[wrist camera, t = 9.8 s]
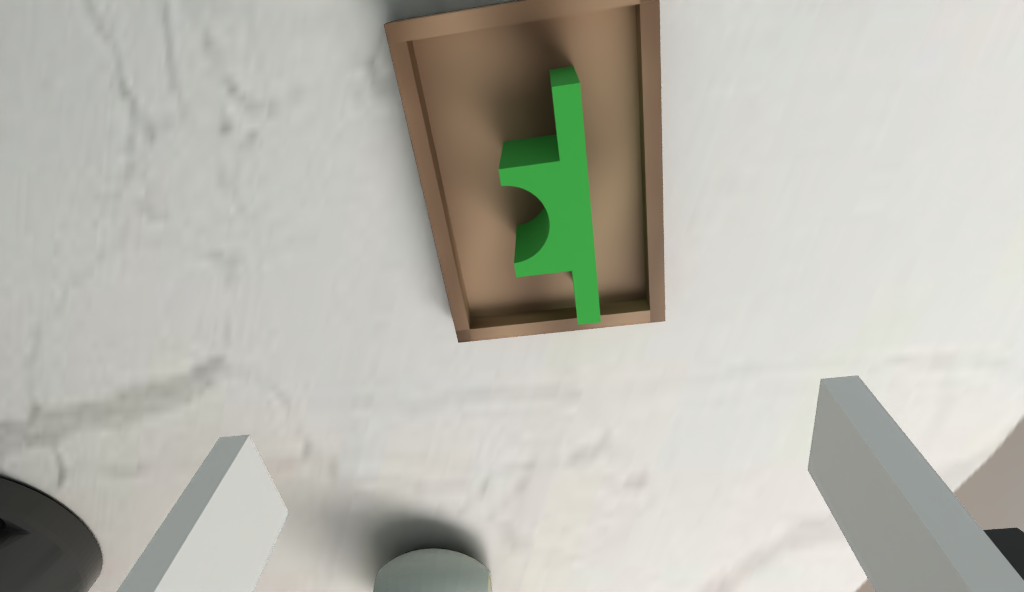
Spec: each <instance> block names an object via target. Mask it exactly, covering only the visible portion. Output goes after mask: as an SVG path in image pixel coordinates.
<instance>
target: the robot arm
mask: <svg viewBox="0 0 1024 592" xmlns="http://www.w3.org/2000/svg"><path fill="white" fill-rule="evenodd" d="M808 471H809V473H810V475H811V477H812V478H813V480H814V482H815V484H816V486H817V487H818V489H819V491H820V493H821V495H822V496H823V498H824V500H825V502H826V504H827V505H828V507H829V509H830V511H831V513H832V515H833V516H834V518H835V520H836V522H837V524H838V525H839V527H840V529H841V531H842V533H843V534H844V536H845V538H846V540H847V542H848V543H849V545H850V547H851V549H852V551H853V552H854V554H855V556H856V558H857V560H858V561H859V563H860V565H861V567H862V569H863V570H864V572H865V574H866V576H867V578H868V579H869V581H870V583H871V585H872V587H873V588H874V590H875V592H1024V532H1022V531H1021V530H1020V529H1018V528H1007V529H992V530H982V528H981V527H980V526H979V525H978V524H977V522H976V521H975V520H974V518H973V517H972V516H971V515H970V514H969V512H968V511H967V510H966V509H965V507H964V506H963V505H962V504H961V502H960V501H959V500H958V499H957V498H956V496H955V495H954V494H953V493H952V491H951V490H950V489H949V488H948V486H947V485H946V484H945V483H944V481H943V480H942V479H941V478H940V476H939V475H938V474H937V473H936V471H935V470H934V469H933V468H932V467H931V465H930V464H929V463H928V462H927V460H926V459H925V458H924V457H923V455H922V454H921V453H920V452H919V450H918V449H917V448H916V447H915V446H914V444H913V443H912V442H911V441H910V439H909V438H908V437H907V436H906V434H905V433H904V432H903V431H902V429H901V428H900V427H899V426H898V425H897V423H896V422H895V421H894V420H893V418H892V417H891V416H890V415H889V413H888V412H887V411H886V410H885V408H884V407H883V406H882V405H881V404H880V402H879V401H878V400H877V399H876V397H875V396H874V395H873V394H872V392H871V391H870V390H869V389H868V387H867V386H866V385H865V384H864V383H863V381H862V380H861V379H860V378H859V376H848V377H837V378H827V379H821V381H820V388H819V395H818V402H817V409H816V416H815V423H814V429H813V436H812V443H811V450H810V457H809V464H808ZM288 513H289V512H288V510H287V508H286V506H285V504H284V502H283V500H282V498H281V496H280V494H279V492H278V490H277V488H276V486H275V484H274V482H273V480H272V478H271V476H270V474H269V472H268V470H267V468H266V466H265V464H264V462H263V460H262V458H261V456H260V454H259V452H258V450H257V448H256V446H255V444H254V442H253V440H252V438H251V436H250V435H241V436H231V437H221V438H219V439H218V441H217V442H216V444H215V445H214V447H213V448H212V450H211V451H210V453H209V454H208V456H207V457H206V459H205V460H204V462H203V463H202V465H201V466H200V468H199V469H198V471H197V472H196V474H195V475H194V477H193V478H192V480H191V481H190V483H189V484H188V486H187V487H186V489H185V490H184V492H183V493H182V495H181V496H180V498H179V499H178V501H177V502H176V504H175V505H174V507H173V508H172V510H171V511H170V513H169V514H168V516H167V517H166V519H165V520H164V522H163V523H162V525H161V526H160V528H159V529H158V531H157V532H156V534H155V535H154V537H153V538H152V540H151V541H150V543H149V544H148V546H147V547H146V549H145V550H144V552H143V553H142V555H141V556H140V558H139V559H138V561H137V562H136V564H135V565H134V567H133V568H132V570H131V571H130V573H129V574H128V576H127V577H126V579H125V580H124V582H123V583H122V585H121V586H120V587H119V589H118V590H117V592H253V591H254V589H255V587H256V585H257V583H258V580H259V578H260V576H261V574H262V571H263V569H264V567H265V565H266V562H267V560H268V558H269V556H270V554H271V551H272V549H273V547H274V545H275V542H276V540H277V538H278V536H279V533H280V531H281V529H282V527H283V525H284V522H285V520H286V518H287V516H288ZM101 569H102V555H101V551H100V548H99V546H98V544H97V542H96V540H95V539H94V537H93V536H92V534H91V533H90V532H89V530H88V529H87V528H86V527H85V526H84V525H83V524H82V523H81V522H80V521H79V520H78V519H77V518H76V517H75V516H74V515H72V514H71V513H70V512H69V511H67V510H66V509H65V508H63V507H62V506H60V505H59V504H57V503H56V502H54V501H53V500H51V499H49V498H47V497H46V496H44V495H42V494H40V493H38V492H36V491H34V490H32V489H30V488H27V487H25V486H23V485H20V484H17V483H15V482H12V481H9V480H6V479H2V478H0V592H88V591H89V589H90V588H91V586H92V585H93V584H94V582H95V581H96V579H97V578H98V576H99V575H100V572H101Z"/></svg>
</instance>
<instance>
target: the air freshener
mask: <svg viewBox="0 0 1024 592" xmlns="http://www.w3.org/2000/svg"><path fill="white" fill-rule="evenodd" d="M373 592H492V582H491V572H490V570H489V569H488V568H486V567H485V566H484V565H483V564H481V563H480V562H478V561H477V560H475V559H473V558H471V557H469V556H467V555H465V554H462V553H459V552H456V551H452V550H446V549H421V550H416V551H411V552H408V553H405V554H402V555H400V556H398V557H396V558H394V559H392V560H391V561H389V562H388V563H387V564H385V565H384V566H383V567H382V568H380V570H379V571H378V573H377V576H376V580H375V585H374V591H373Z"/></svg>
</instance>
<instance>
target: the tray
mask: <svg viewBox="0 0 1024 592" xmlns="http://www.w3.org/2000/svg"><path fill="white" fill-rule="evenodd" d="M384 27H385V31H386V35H387V40H388V44H389V48H390V52H391V57H392V61H393V65H394V69H395V74H396V78H397V82H398V87H399V91H400V95H401V99H402V104H403V108H404V112H405V116H406V121H407V125H408V129H409V134H410V138H411V142H412V146H413V151H414V155H415V159H416V163H417V168H418V172H419V176H420V181H421V185H422V189H423V193H424V198H425V202H426V206H427V210H428V215H429V219H430V223H431V228H432V232H433V236H434V240H435V245H436V249H437V253H438V257H439V262H440V266H441V270H442V275H443V279H444V283H445V287H446V292H447V296H448V300H449V304H450V309H451V313H452V317H453V322H454V326H455V330H456V334H457V339H458V343H459V342H469V341H478V340H488V339H498V338H507V337H517V336H527V335H536V334H546V333H556V332H565V331H575V330H584V329H594V328H604V327H613V326H623V325H633V324H642V323H652V322H662V321H665V283H664V228H663V172H662V117H661V62H660V6H659V0H516V1H510V2H504V3H498V4H492V5H486V6H480V7H474V8H468V9H462V10H456V11H450V12H444V13H438V14H432V15H426V16H420V17H413V18H407V19H401V20H395V21H391V22H388V23H386V24H384ZM570 66H574V68H575V71H576V74H577V76H578V79H579V81H580V87H581V99H582V110H583V122H584V133H585V145H586V156H587V168H588V179H589V191H590V202H591V214H592V225H593V237H594V248H595V260H596V271H597V283H598V294H599V306H600V317H601V322H599V323H589V324H580V325H578V321H577V312H576V304H575V296H574V287H573V279H572V271H567V272H559V273H550V274H541V275H533V276H524V277H516V272H515V266H514V256H515V243H516V229H517V225H522V224H525V223H528V222H530V221H531V220H533V219H534V218H535V217H537V216H538V215H539V214H540V212H541V211H542V210H543V208H544V205H543V204H542V202H541V201H540V200H539V199H538V198H537V197H536V196H535V195H533V194H532V193H531V192H529V191H527V190H525V189H522V188H519V187H514V186H501V182H500V176H499V170H498V169H499V164H500V158H501V153H502V148H503V142H506V141H513V140H520V139H527V138H534V137H541V136H548V135H555V134H556V126H555V117H554V108H553V99H552V90H551V81H550V72H549V70H551V69H557V68H563V67H570Z"/></svg>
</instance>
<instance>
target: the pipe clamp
mask: <svg viewBox="0 0 1024 592" xmlns="http://www.w3.org/2000/svg"><path fill="white" fill-rule="evenodd" d="M549 72H550V81H551V90H552V99H553V108H554V117H555V126H556V134H555V135H548V136H541V137H534V138H527V139H520V140H513V141H506V142H503V148H502V153H501V158H500V164H499V169H498V170H499V176H500V182H501V186H514V187H519V188H522V189H525V190H527V191H529V192H531V193H532V194H533V195H535V196H536V197H537V198H538V199H539V200H540V201H541V202H542V204H543V205H544V208H543V210H542V211H541V212H540V214H539V215H538V216H537V217H535V218H534V219H533V220H531V221H530V222H528V223H525V224H522V225H517V229H516V243H515V256H514V266H515V272H516V277H524V276H533V275H541V274H550V273H559V272H567V271H572V279H573V287H574V296H575V304H576V312H577V321H578V325H580V324H589V323H599V322H601V317H600V306H599V294H598V283H597V271H596V260H595V248H594V237H593V225H592V214H591V202H590V191H589V179H588V168H587V156H586V145H585V133H584V122H583V110H582V99H581V87H580V81H579V79H578V76H577V74H576V71H575V68H574V66H570V67H563V68H557V69H551V70H549Z"/></svg>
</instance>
